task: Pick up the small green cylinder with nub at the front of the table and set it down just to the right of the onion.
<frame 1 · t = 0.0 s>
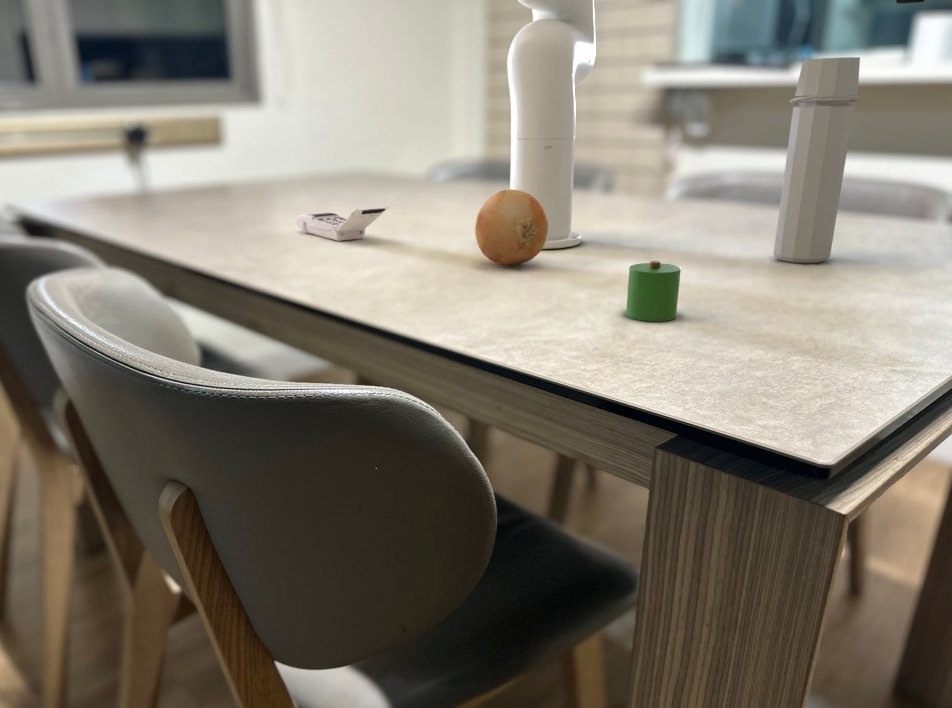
onion: (510, 266, 110), on the table
green cylinder with nub: (650, 315, 84), on the table
water bottle: (799, 259, 110), on the table
mobile phone: (337, 237, 137), on the table
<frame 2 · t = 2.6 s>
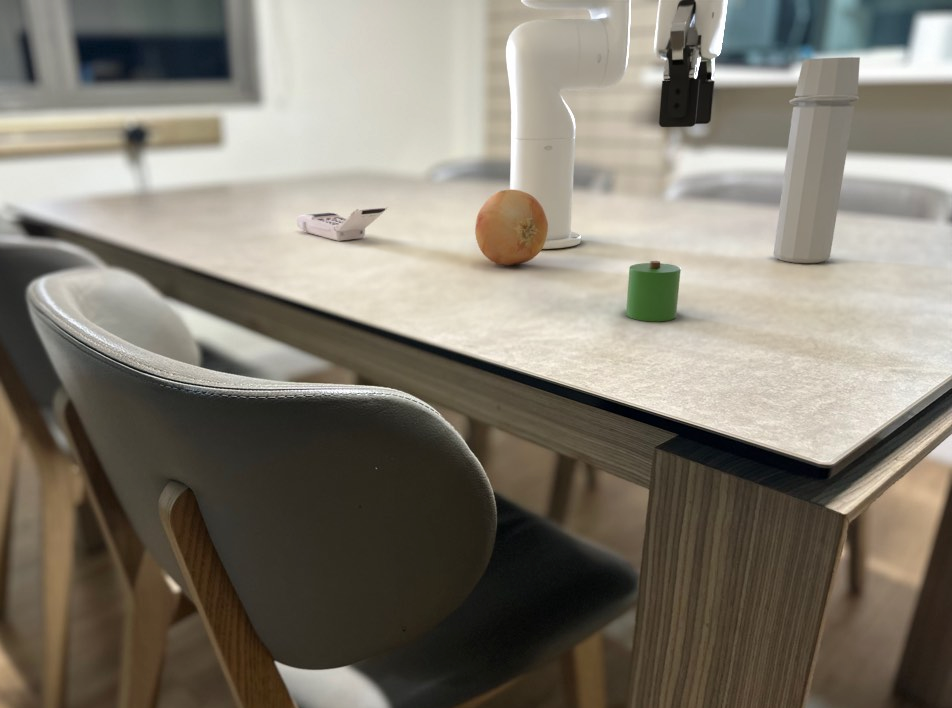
hand: (685, 125, 78), 19 cm above the table, tool pointing down, fingers open, 9 cm apart
nothing on the table moved.
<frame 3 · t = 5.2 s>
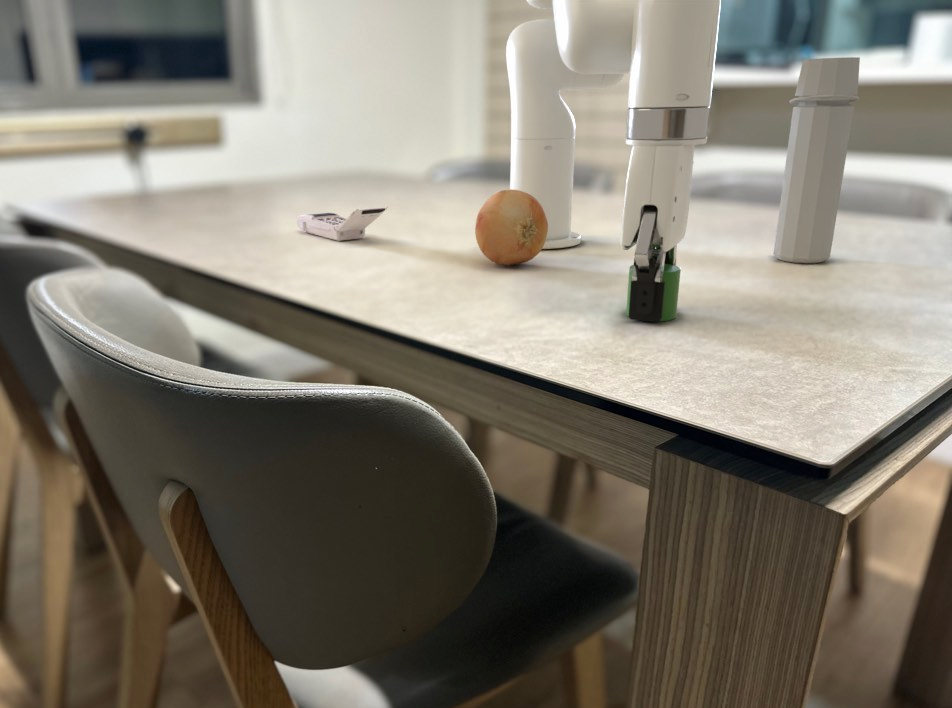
hand: (651, 311, 84), 0 cm above the table, tool pointing down, fingers closed on green cylinder with nub, 5 cm apart
green cylinder with nub: (650, 315, 84), on the table, touching gripper
everything else where it was.
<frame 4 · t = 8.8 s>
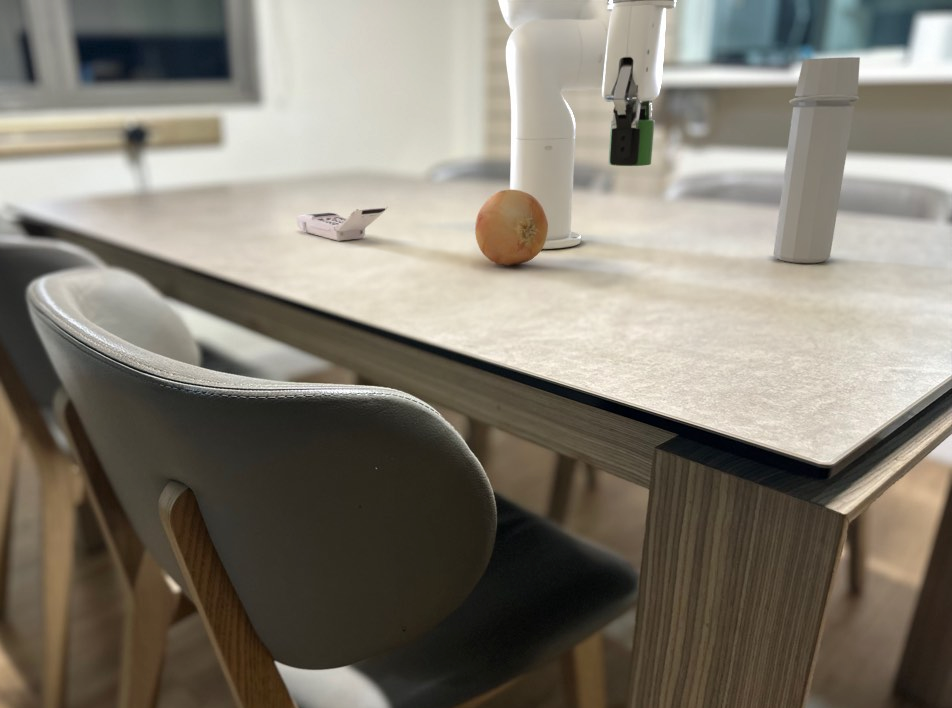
hand: (629, 160, 97), 14 cm above the table, tool pointing down, fingers closed on green cylinder with nub, 5 cm apart
green cylinder with nub: (629, 164, 98), point 14 cm above the table, touching gripper
everything else where it was.
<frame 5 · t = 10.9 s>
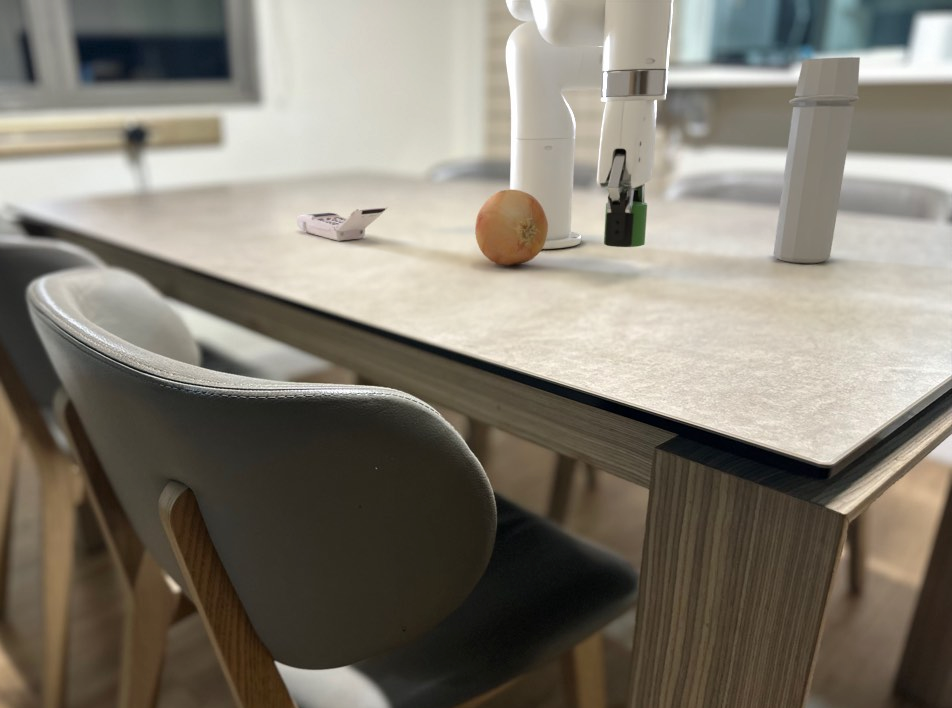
hand: (624, 240, 102), 4 cm above the table, tool pointing down, fingers closed on green cylinder with nub, 5 cm apart
green cylinder with nub: (624, 244, 102), point 4 cm above the table, touching gripper
everything else where it was.
when the fingers open (0 cm above the table, at t = 12.3 s): green cylinder with nub stays where it is, on the table.
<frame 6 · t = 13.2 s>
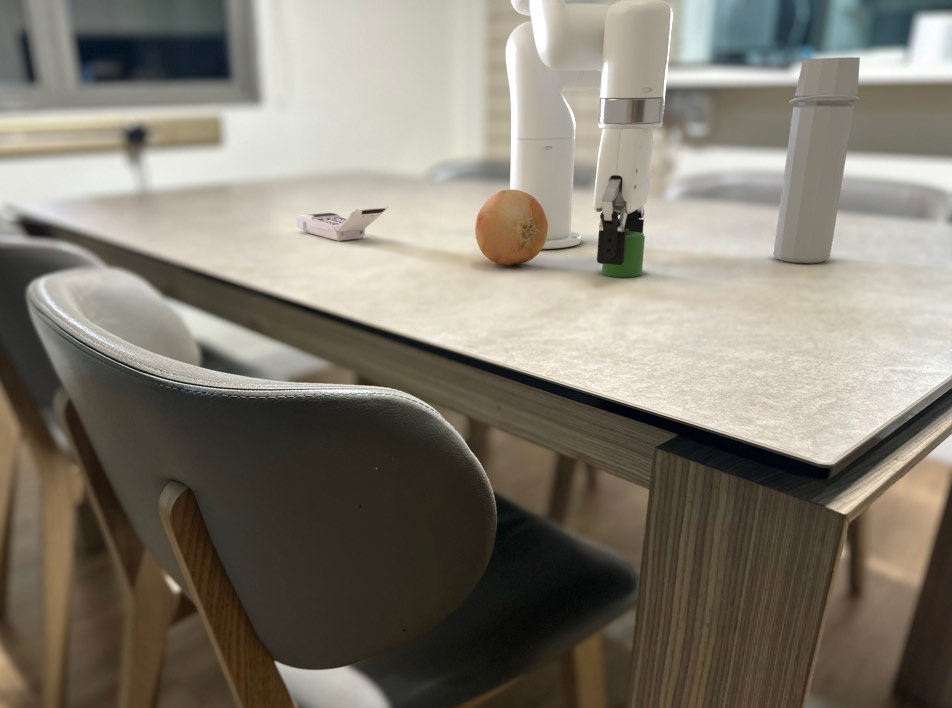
hand: (619, 256, 103), 2 cm above the table, tool pointing down, fingers open, 9 cm apart
green cylinder with nub: (621, 273, 103), on the table
everything else where it was.
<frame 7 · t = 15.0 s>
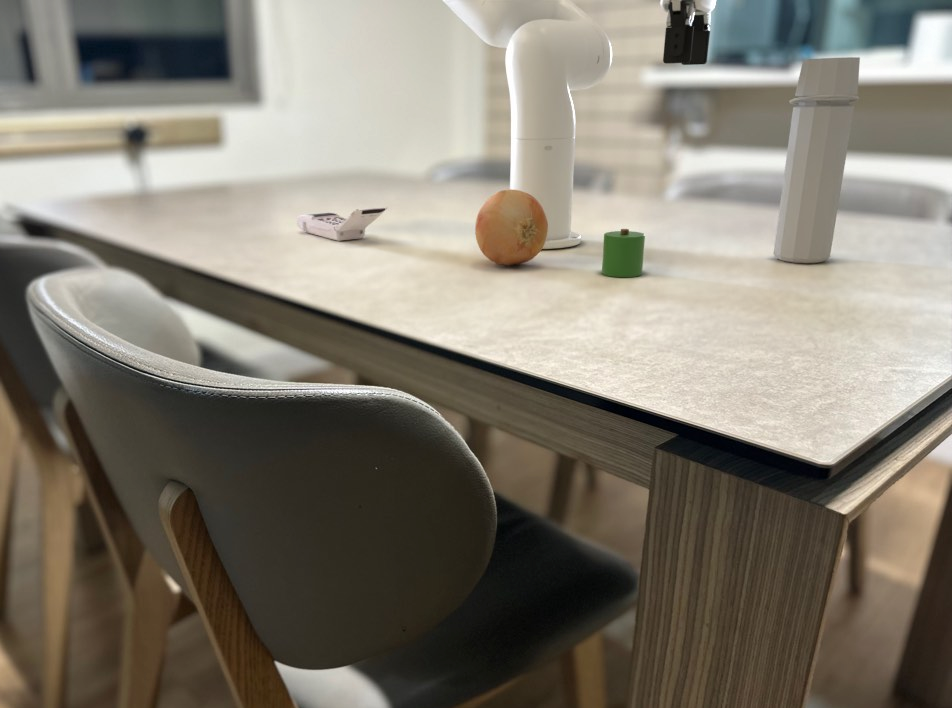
hand: (685, 63, 102), 25 cm above the table, tool pointing down, fingers open, 9 cm apart
nothing on the table moved.
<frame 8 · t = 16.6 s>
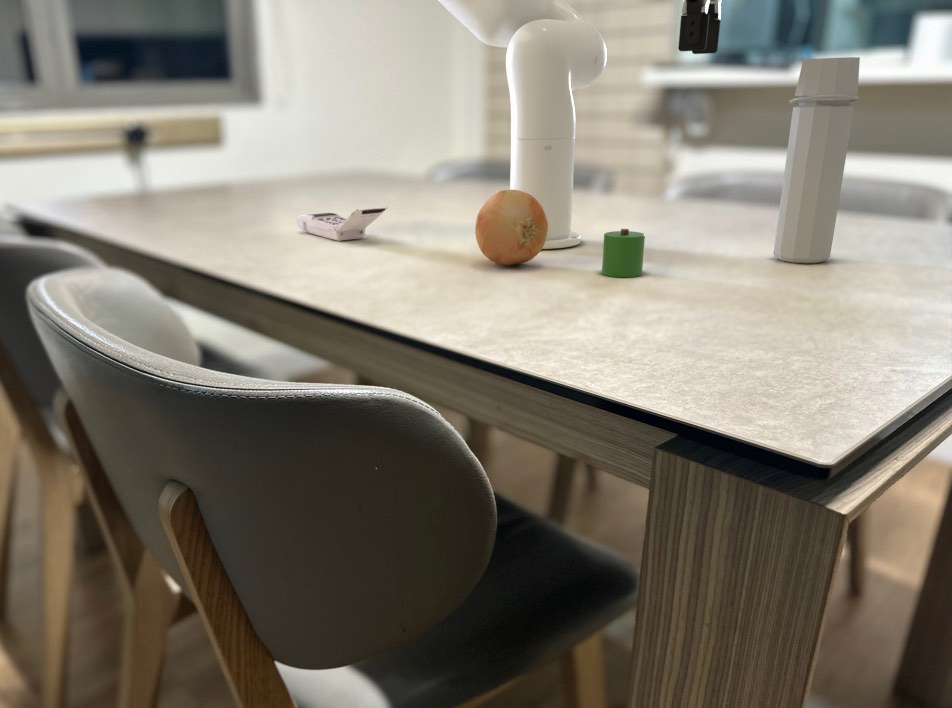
hand: (698, 52, 103), 26 cm above the table, tool pointing down, fingers open, 9 cm apart
nothing on the table moved.
at the end: green cylinder with nub inside the target area on the table beside the onion (0.3 cm from its centre), on the table; green cylinder with nub tilted 0°; the gripper is holding nothing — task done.
